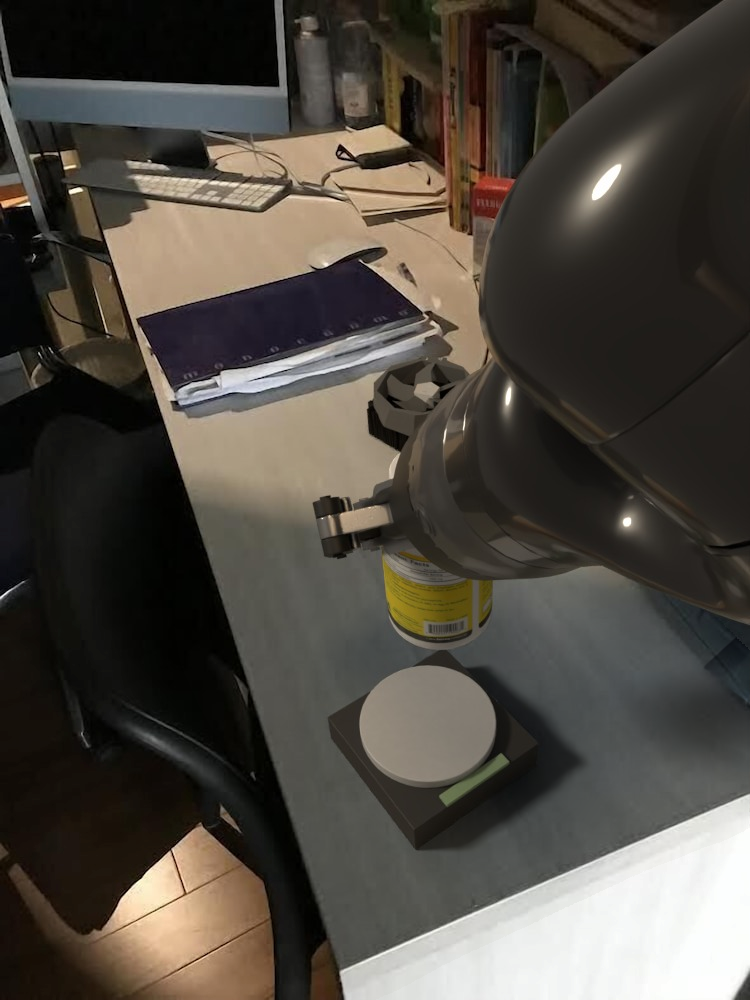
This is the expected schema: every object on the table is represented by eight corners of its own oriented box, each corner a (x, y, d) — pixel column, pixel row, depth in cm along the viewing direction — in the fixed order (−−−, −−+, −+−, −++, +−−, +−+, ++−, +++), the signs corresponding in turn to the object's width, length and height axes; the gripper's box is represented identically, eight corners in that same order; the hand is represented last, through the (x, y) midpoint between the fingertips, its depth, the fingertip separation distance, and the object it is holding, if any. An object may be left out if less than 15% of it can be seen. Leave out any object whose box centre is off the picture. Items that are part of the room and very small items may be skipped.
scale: (536, 764, 56) (539, 736, 53) (415, 850, 52) (413, 823, 50) (444, 668, 62) (443, 639, 60) (330, 738, 58) (325, 710, 56)
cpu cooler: (423, 426, 76) (350, 385, 82) (425, 475, 80) (355, 433, 86) (499, 380, 81) (425, 345, 87) (497, 428, 85) (426, 391, 91)
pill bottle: (443, 562, 53) (439, 417, 46) (513, 616, 49) (522, 468, 42) (366, 611, 50) (350, 465, 43) (434, 672, 46) (429, 524, 39)
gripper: (667, 340, 32) (531, 426, 48) (295, 414, 30) (286, 477, 46) (718, 533, 31) (562, 553, 48) (342, 622, 29) (316, 610, 46)
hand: (427, 515), depth 47 cm, fingers closed on pill bottle, 6 cm apart
